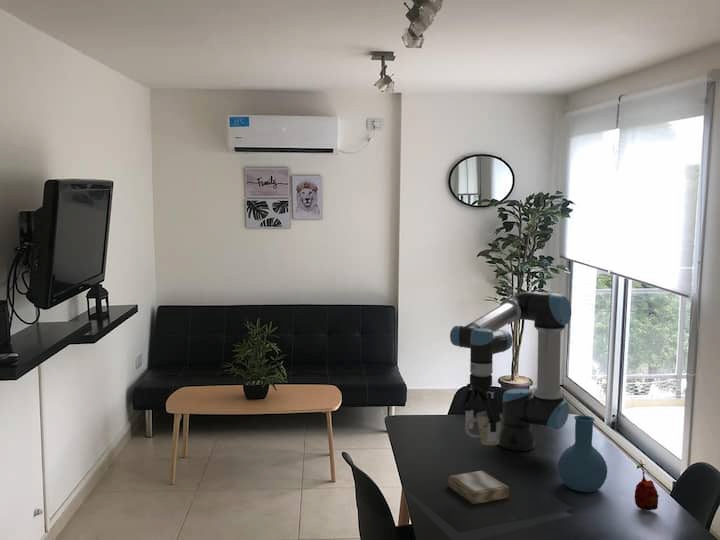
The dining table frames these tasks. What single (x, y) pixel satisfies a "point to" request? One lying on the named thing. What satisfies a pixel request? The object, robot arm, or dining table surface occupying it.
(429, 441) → the dining table surface
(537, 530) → the dining table surface
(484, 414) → the mug
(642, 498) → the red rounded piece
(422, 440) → the dining table surface
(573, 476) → the vase
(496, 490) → the plinth
